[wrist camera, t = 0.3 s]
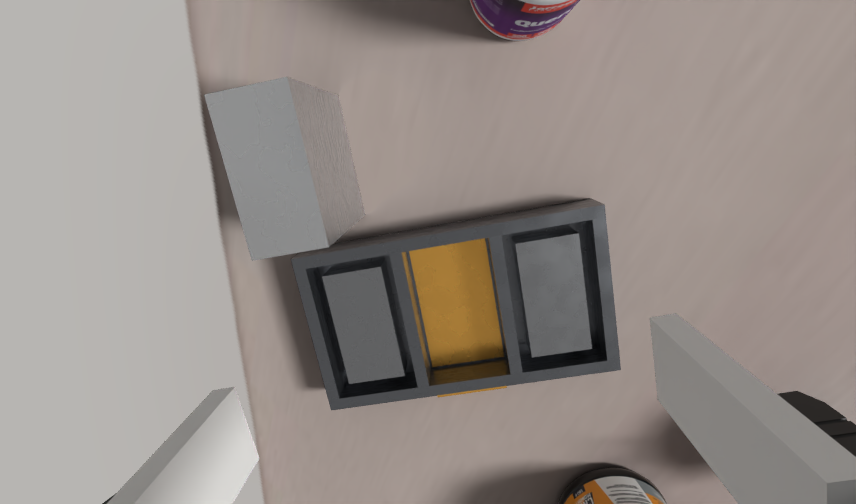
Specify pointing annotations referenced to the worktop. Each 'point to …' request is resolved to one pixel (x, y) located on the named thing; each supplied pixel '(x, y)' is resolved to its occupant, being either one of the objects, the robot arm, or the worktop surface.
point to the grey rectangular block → (287, 165)
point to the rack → (462, 305)
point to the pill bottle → (521, 16)
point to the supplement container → (611, 488)
